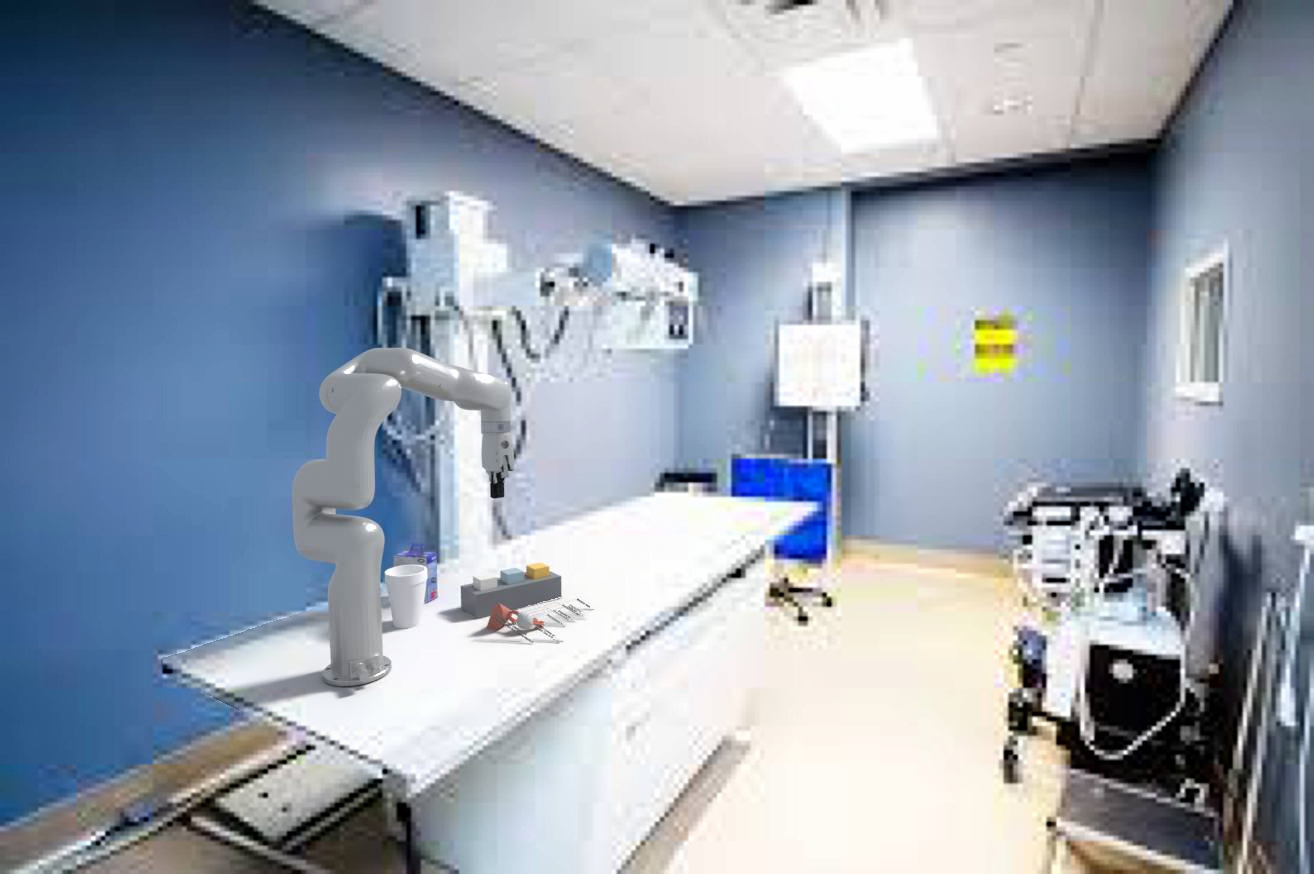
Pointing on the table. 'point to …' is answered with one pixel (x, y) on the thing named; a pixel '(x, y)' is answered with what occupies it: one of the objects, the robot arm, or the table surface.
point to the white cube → (484, 582)
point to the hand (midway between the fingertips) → (497, 497)
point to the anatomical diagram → (522, 618)
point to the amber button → (537, 570)
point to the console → (510, 595)
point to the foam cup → (406, 594)
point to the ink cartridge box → (425, 560)
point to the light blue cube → (512, 576)
